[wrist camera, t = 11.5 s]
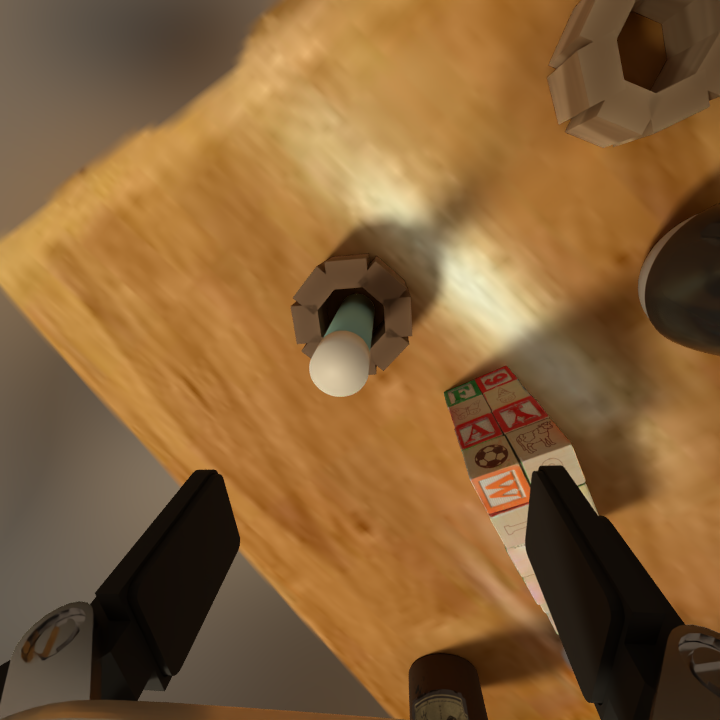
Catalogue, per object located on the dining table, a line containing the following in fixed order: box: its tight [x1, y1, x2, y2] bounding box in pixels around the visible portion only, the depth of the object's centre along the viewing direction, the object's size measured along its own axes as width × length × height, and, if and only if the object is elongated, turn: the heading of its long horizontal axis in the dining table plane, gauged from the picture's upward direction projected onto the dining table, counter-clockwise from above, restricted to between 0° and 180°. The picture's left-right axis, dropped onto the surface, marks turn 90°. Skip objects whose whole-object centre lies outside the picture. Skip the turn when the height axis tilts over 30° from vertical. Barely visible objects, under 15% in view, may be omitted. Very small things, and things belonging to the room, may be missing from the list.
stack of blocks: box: [444, 366, 599, 634], centre depth 29 cm, size 21×6×12 cm, turn 28°
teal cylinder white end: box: [309, 294, 375, 397], centre depth 24 cm, size 3×3×13 cm
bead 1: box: [291, 253, 412, 375], centre depth 28 cm, size 9×9×4 cm
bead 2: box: [547, 0, 720, 148], centre depth 21 cm, size 9×9×4 cm
